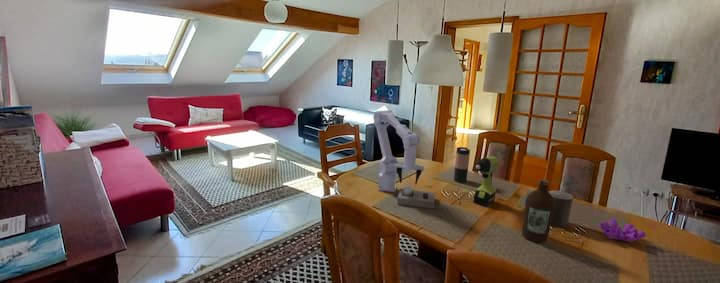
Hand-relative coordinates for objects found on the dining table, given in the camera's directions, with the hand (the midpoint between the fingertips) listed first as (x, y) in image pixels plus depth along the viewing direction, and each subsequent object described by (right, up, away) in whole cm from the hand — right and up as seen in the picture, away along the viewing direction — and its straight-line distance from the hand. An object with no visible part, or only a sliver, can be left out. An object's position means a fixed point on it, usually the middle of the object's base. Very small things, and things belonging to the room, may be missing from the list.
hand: (408, 182), depth 162 cm
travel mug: (+36, -3, +30) cm, 47 cm away
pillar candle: (+64, -16, -17) cm, 68 cm away
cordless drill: (+37, -11, -1) cm, 38 cm away
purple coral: (+84, -20, -29) cm, 91 cm away
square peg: (0, -9, +3) cm, 10 cm away
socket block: (+4, -10, +1) cm, 11 cm away
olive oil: (+48, -19, -29) cm, 59 cm away
